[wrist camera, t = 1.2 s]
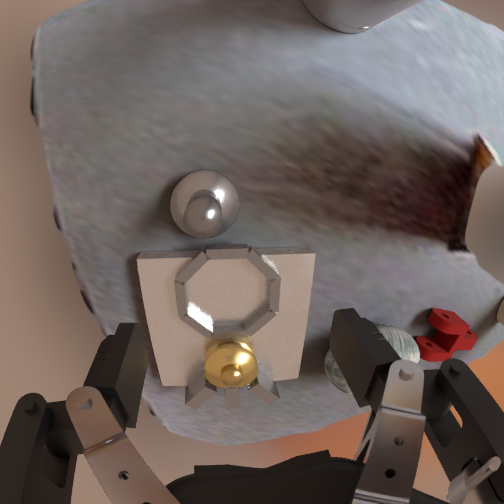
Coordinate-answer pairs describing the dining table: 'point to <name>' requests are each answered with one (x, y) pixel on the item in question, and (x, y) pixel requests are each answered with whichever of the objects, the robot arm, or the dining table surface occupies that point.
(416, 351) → the streaked stone egg
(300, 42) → the dining table surface
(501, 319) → the travel mug
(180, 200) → the silver knob
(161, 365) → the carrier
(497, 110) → the dining table surface
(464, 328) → the mechanical linkage
